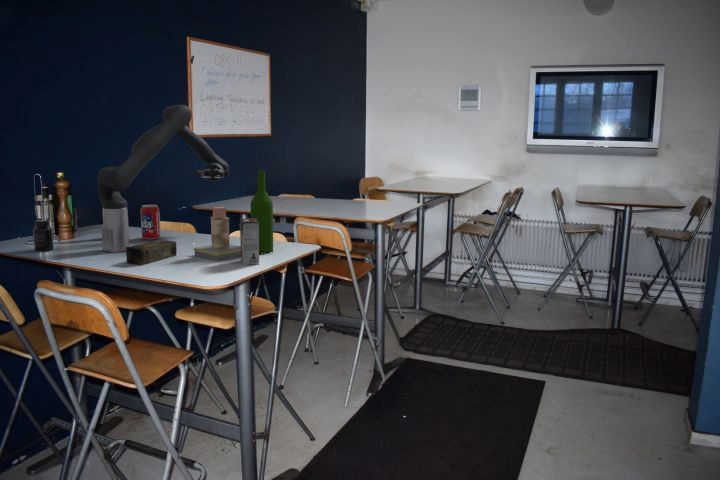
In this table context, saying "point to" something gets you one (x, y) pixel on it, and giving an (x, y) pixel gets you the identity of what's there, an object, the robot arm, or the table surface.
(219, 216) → the cube
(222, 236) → the wooden block
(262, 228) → the wine bottle
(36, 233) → the supplement bottle
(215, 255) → the dock
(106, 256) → the table surface
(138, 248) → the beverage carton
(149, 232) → the soda can
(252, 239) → the coffee box
